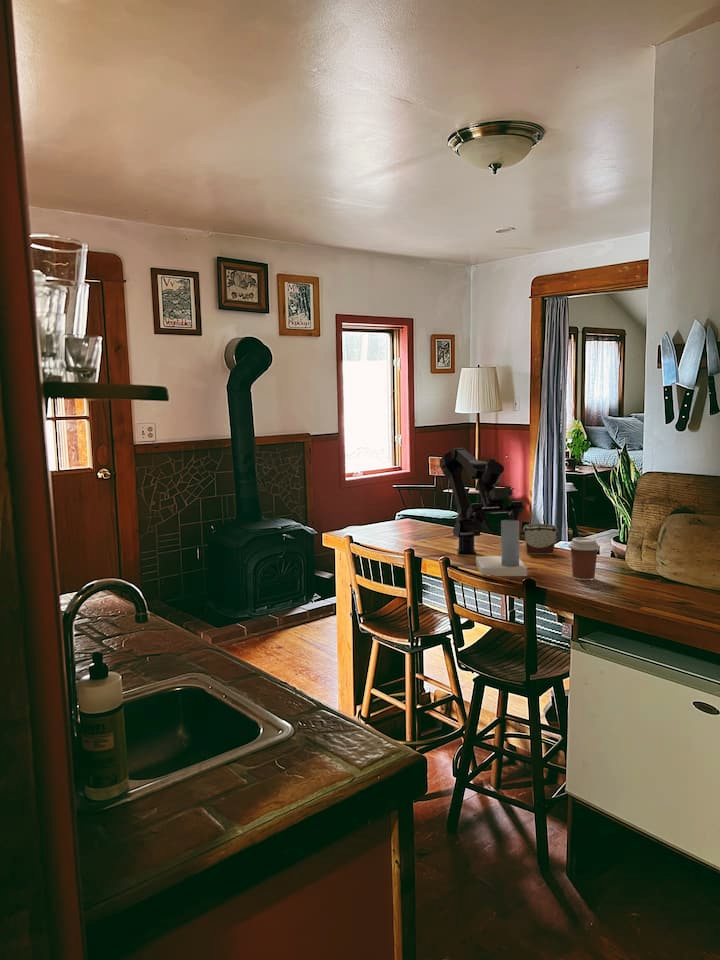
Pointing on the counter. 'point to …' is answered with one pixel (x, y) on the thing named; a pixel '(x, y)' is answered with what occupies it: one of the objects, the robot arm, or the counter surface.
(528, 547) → the food container
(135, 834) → the counter surface
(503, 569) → the shelf board
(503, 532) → the grey pillar
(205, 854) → the counter surface
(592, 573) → the coffee cup
